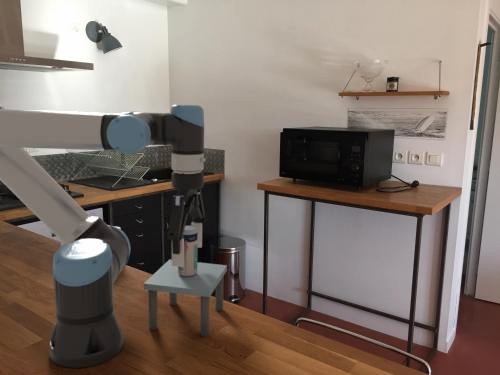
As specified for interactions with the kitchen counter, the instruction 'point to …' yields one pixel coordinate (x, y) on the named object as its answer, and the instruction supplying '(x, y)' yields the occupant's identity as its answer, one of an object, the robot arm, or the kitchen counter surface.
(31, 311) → the kitchen counter surface
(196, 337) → the kitchen counter surface
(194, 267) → the beer can
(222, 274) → the pale blue square-topped fixture
